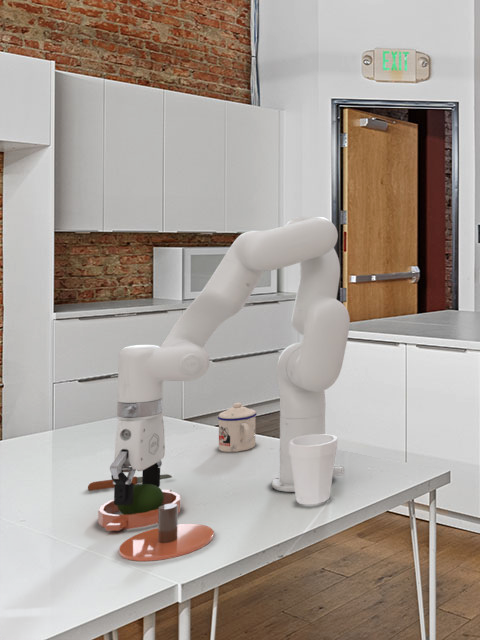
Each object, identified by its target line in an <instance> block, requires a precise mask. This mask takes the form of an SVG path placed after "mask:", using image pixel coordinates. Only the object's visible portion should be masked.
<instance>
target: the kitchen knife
mask: <svg viewBox="0 0 480 640" xmlns="http://www.w3.org/2000/svg"><path fill="white" fill-rule="evenodd" d="M172 478H173V476H172V475H171V474H160V481H161V480H166V479H167V480H168V479H172ZM131 483H134V485H137V484H142V476H135V475H134V476H133V479H132V481H131ZM113 488H114V485H113V480H112V479H104V480H98V481H91V482H90V483H89V484H88V485H87V490H88V491H99V490H106V489H113Z"/></svg>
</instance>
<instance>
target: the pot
mask: <svg viewBox="0 0 480 640" xmlns="http://www.w3.org/2000/svg"><path fill="white" fill-rule="evenodd" d="M161 490H162V492H163V495H164V500H163V503H162V505H165V504H177V505H178V514H179V513H180V512H181V508H182V495H180V494H179V493H177V492H176V491H172V489H161ZM117 512H120V511H119V509H118V506H117V505H115V504H114V498H113V499H111V500H108V501H106V502H105V503H103V504H102V505H100V506H99V509H98V511H97V513H98V515H97V524H98V525H100V526H101V527H102V528H104V529H105V531H106V532H108V531H109V532H110V531H111V532H112V531H113V532H115V531H121V530H131V529H135V528H136V529H137V528H143V527H148V526H152V525H155V524H158V509H156V510H152V511H148V512H143V513H136V514H122V513H121V514H117ZM115 513H116V514H115Z"/></svg>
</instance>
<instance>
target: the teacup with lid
mask: <svg viewBox="0 0 480 640" xmlns="http://www.w3.org/2000/svg"><path fill="white" fill-rule="evenodd" d="M256 416H257V412H256V410H254V409H252V408H248V407H246V406H243V404H242V402H235V403H233V405H232V407H229V408H228V409H227V410H225V411H221V412H219V414H218V415H217V419H218V450H219V451H220V452H223V453H237V452H243V451H247V450H251V449H253V448H254V447H255V446H256ZM254 435H255V436H254Z"/></svg>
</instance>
